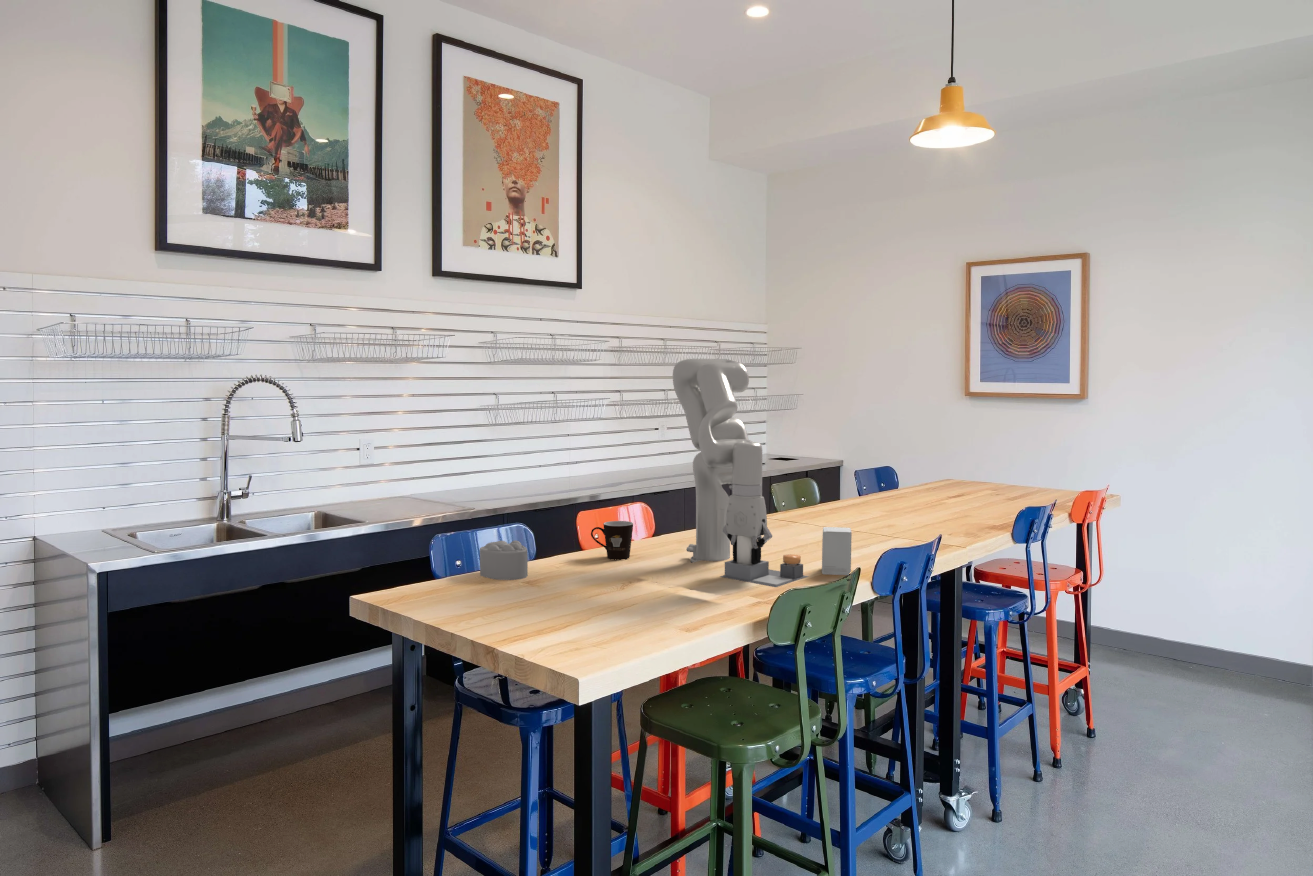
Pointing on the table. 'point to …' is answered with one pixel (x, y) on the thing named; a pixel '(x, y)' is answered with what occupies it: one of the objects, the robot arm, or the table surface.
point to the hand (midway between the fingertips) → (746, 561)
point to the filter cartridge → (744, 550)
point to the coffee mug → (616, 539)
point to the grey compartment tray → (763, 573)
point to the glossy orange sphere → (791, 559)
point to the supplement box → (836, 551)
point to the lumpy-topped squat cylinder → (504, 561)
